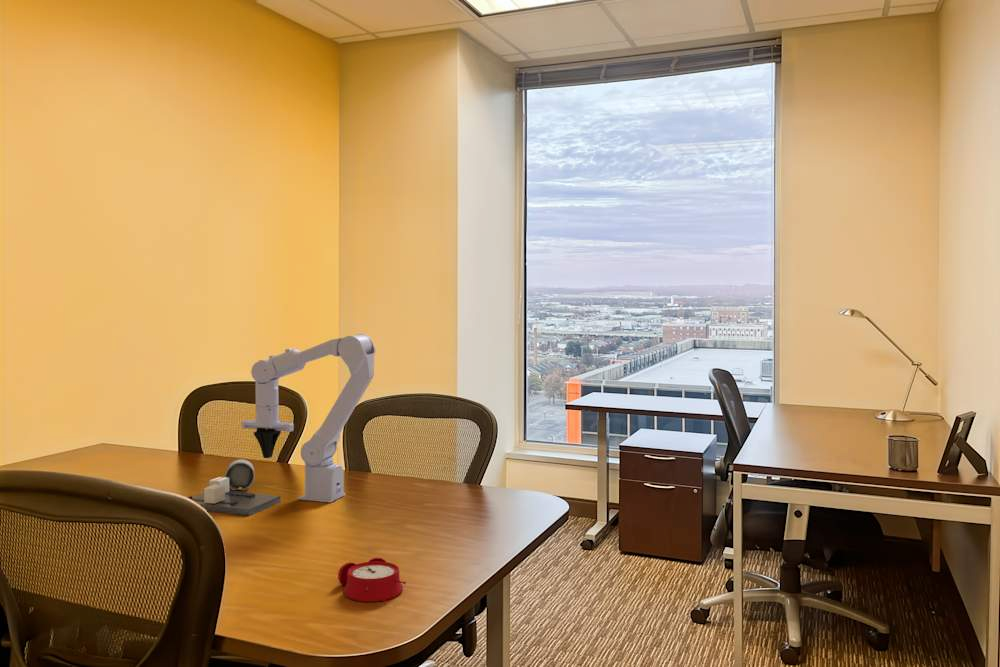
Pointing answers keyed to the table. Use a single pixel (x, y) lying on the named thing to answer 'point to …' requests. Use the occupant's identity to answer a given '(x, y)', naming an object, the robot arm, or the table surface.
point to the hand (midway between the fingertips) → (267, 457)
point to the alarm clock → (371, 580)
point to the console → (239, 502)
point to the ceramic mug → (240, 474)
